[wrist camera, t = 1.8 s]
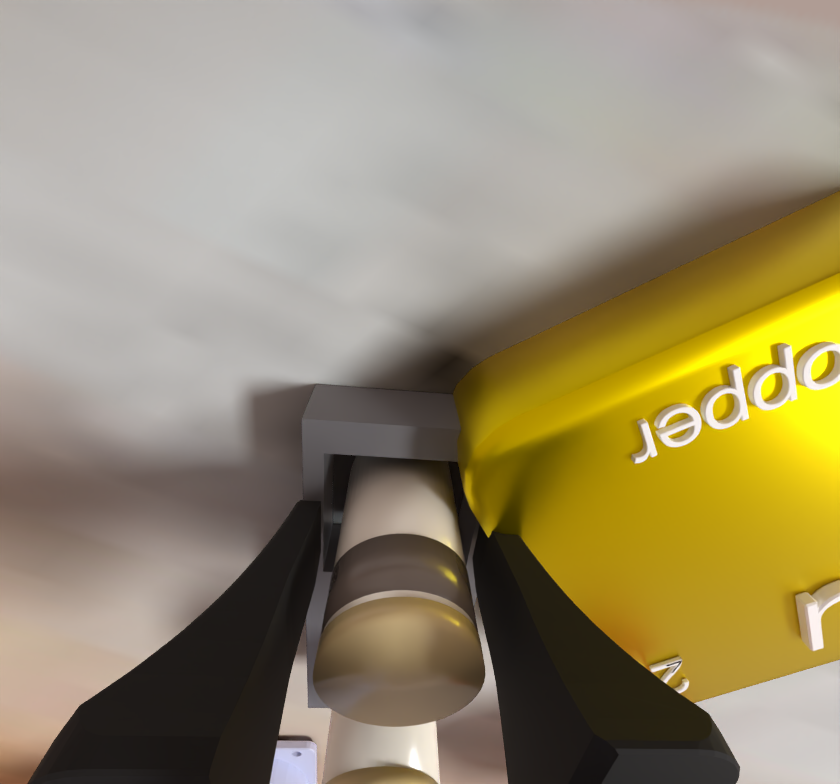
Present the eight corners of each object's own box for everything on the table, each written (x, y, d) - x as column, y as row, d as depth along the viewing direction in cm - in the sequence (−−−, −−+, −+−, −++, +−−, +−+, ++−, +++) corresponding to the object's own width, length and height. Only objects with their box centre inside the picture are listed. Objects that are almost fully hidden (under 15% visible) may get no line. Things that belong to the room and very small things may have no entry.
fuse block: (317, 655, 20) (308, 707, 18) (316, 384, 14) (301, 418, 12) (445, 658, 20) (449, 709, 18) (499, 397, 14) (515, 433, 12)
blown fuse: (347, 513, 16) (313, 726, 10) (350, 430, 14) (312, 620, 8) (444, 518, 16) (470, 728, 10) (458, 437, 15) (499, 626, 9)
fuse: (343, 632, 19) (314, 851, 13) (345, 574, 18) (314, 794, 11) (424, 634, 20) (435, 850, 13) (434, 578, 18) (452, 793, 12)
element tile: (913, 148, 12) (1209, 130, 7) (904, 514, 18) (1062, 619, 14) (425, 381, 14) (436, 467, 10) (565, 630, 20) (609, 750, 16)
